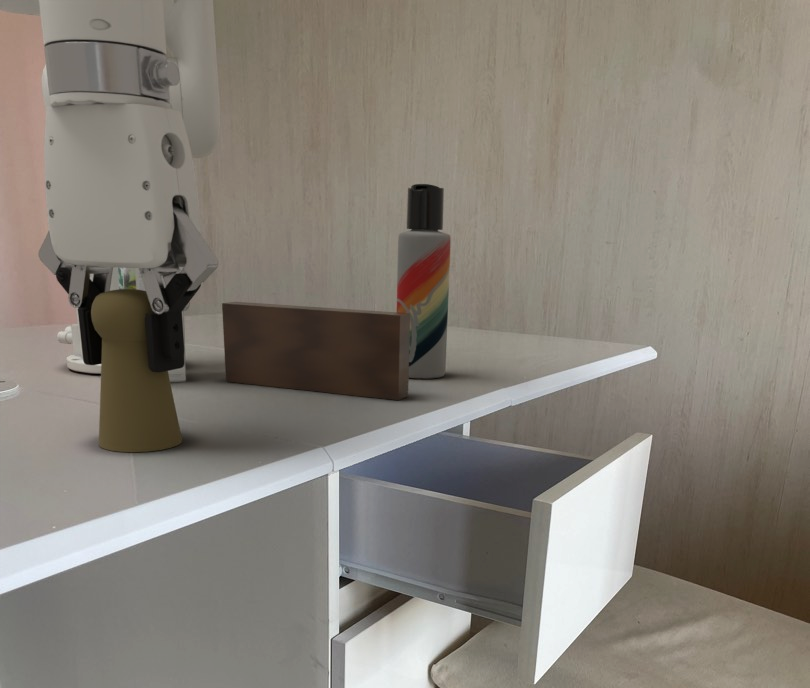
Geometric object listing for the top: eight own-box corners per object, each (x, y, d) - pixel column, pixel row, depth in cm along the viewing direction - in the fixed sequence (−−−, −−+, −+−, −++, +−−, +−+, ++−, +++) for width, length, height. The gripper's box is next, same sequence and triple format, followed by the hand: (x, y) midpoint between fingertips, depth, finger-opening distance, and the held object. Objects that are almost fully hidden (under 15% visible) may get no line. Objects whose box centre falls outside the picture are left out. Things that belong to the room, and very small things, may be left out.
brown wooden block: (225, 381, 88) (221, 303, 85) (238, 378, 90) (235, 301, 87) (398, 400, 81) (400, 315, 78) (408, 396, 83) (410, 313, 80)
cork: (159, 454, 59) (146, 294, 56) (82, 448, 60) (64, 291, 57) (195, 435, 65) (186, 289, 61) (124, 430, 66) (110, 285, 62)
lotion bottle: (387, 376, 93) (391, 182, 86) (405, 369, 98) (410, 186, 91) (435, 380, 91) (443, 183, 85) (451, 373, 96) (459, 186, 90)
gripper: (252, 89, 54) (262, 369, 61) (54, 98, 61) (82, 351, 67) (179, 69, 48) (199, 385, 54) (-34, 81, 54) (6, 363, 61)
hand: (134, 363), depth 61 cm, fingers closed on cork, 5 cm apart
